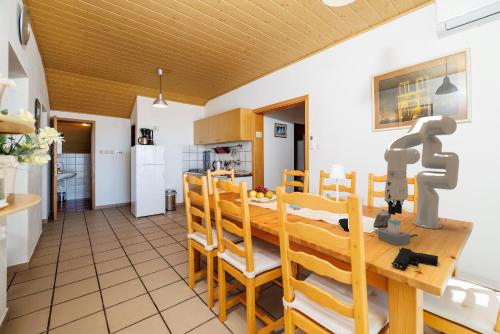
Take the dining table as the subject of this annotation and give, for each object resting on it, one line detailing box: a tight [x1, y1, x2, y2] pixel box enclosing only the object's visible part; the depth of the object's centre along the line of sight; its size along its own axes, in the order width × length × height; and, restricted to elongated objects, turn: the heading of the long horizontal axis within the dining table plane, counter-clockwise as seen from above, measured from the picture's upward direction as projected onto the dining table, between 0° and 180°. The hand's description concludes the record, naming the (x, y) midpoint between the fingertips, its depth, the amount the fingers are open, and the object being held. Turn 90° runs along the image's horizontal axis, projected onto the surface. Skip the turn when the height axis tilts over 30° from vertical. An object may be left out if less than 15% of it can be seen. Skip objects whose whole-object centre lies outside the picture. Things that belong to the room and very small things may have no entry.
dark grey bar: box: [410, 233, 419, 239], centre depth 108 cm, size 11×1×1 cm, turn 112°
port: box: [377, 228, 411, 247], centre depth 104 cm, size 9×9×4 cm
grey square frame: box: [374, 227, 387, 235], centre depth 112 cm, size 7×7×2 cm
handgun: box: [391, 247, 439, 271], centre depth 81 cm, size 3×17×12 cm
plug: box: [387, 218, 402, 235], centre depth 103 cm, size 4×4×10 cm
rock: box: [373, 209, 392, 228], centre depth 126 cm, size 16×8×10 cm, turn 122°
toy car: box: [338, 218, 350, 232], centre depth 123 cm, size 8×17×5 cm, turn 171°
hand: (394, 213), depth 103 cm, fingers open, 3 cm apart
